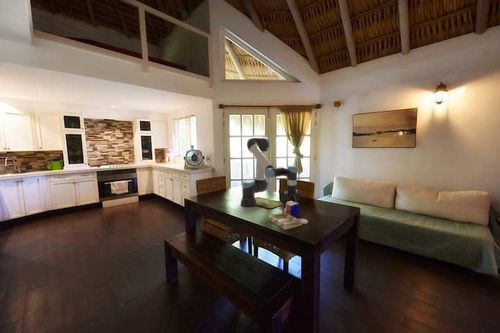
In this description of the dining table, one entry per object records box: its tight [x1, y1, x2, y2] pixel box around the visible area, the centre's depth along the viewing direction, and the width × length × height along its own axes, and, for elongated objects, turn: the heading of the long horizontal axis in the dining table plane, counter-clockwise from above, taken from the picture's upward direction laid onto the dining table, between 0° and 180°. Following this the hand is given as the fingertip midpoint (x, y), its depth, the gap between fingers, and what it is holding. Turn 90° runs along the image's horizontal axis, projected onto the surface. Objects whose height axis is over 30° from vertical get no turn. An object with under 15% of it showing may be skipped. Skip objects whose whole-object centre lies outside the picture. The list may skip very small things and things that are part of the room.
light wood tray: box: [268, 212, 303, 230], centre depth 158 cm, size 20×15×3 cm
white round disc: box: [298, 218, 309, 225], centre depth 160 cm, size 8×8×1 cm
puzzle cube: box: [281, 200, 300, 218], centre depth 173 cm, size 10×10×10 cm
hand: (290, 210), depth 173 cm, fingers closed on puzzle cube, 10 cm apart
